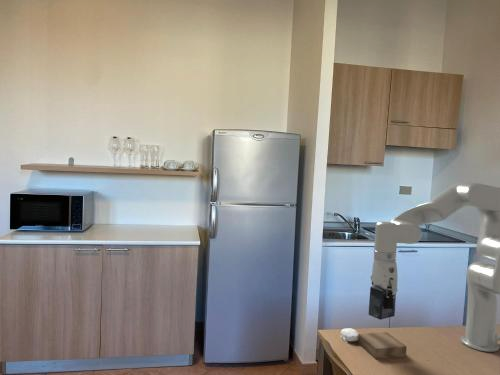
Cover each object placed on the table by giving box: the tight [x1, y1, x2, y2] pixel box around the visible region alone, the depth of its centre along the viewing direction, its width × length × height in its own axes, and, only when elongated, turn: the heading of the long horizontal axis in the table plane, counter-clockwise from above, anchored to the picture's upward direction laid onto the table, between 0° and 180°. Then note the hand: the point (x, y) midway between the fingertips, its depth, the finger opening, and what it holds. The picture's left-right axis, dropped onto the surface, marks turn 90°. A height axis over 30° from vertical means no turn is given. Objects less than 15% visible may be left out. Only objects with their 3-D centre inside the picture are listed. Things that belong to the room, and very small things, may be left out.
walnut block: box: [357, 331, 407, 360], centre depth 138 cm, size 12×12×4 cm
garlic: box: [340, 327, 359, 344], centre depth 145 cm, size 8×7×4 cm
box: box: [368, 286, 397, 320], centre depth 137 cm, size 8×6×11 cm
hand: (382, 304), depth 137 cm, fingers closed on box, 7 cm apart
